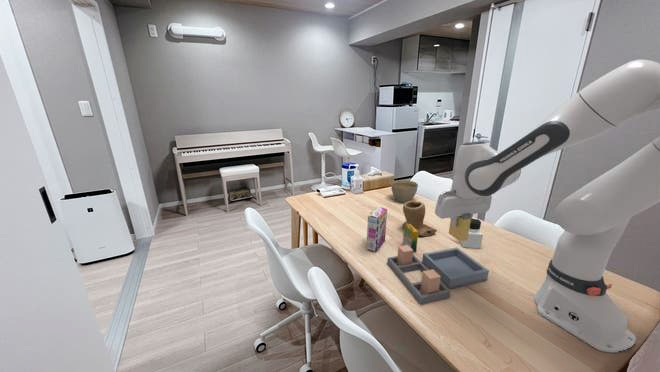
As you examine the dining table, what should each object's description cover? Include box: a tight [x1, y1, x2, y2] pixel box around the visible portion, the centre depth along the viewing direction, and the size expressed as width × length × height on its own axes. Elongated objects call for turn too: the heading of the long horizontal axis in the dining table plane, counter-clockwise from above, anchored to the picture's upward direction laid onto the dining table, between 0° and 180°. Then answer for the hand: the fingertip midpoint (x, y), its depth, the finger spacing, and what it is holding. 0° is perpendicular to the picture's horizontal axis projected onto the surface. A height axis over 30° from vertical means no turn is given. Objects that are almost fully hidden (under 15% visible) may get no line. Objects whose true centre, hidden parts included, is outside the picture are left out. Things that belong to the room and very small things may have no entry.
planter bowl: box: [390, 179, 419, 204], centre depth 166 cm, size 16×16×11 cm
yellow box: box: [448, 213, 473, 243], centre depth 94 cm, size 6×3×10 cm, turn 15°
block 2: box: [419, 269, 441, 295], centre depth 88 cm, size 4×4×8 cm
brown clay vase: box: [401, 200, 438, 237], centre depth 127 cm, size 15×12×15 cm
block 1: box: [396, 245, 414, 266], centre depth 102 cm, size 4×4×8 cm
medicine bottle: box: [460, 217, 484, 250], centre depth 116 cm, size 7×7×12 cm
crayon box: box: [402, 220, 419, 253], centre depth 114 cm, size 7×3×12 cm, turn 12°
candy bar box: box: [366, 206, 388, 253], centre depth 116 cm, size 11×5×16 cm, turn 149°
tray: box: [421, 247, 490, 290], centre depth 100 cm, size 16×16×4 cm
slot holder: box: [386, 254, 452, 305], centre depth 96 cm, size 23×11×2 cm, turn 15°
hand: (459, 225), depth 94 cm, fingers closed on yellow box, 3 cm apart
